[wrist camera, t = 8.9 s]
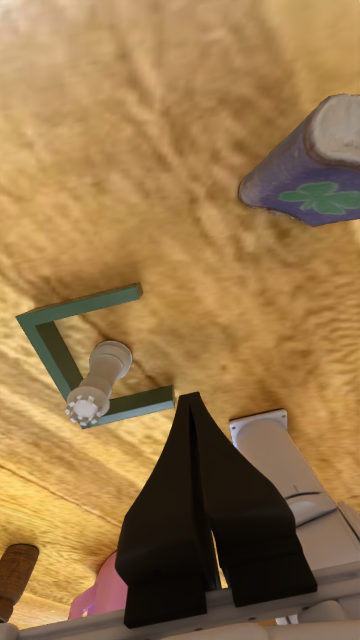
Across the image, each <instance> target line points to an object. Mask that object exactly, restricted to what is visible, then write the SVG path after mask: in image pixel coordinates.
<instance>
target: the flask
mask: <svg viewBox="0 0 360 640" xmlns="http://www.w3.org/2000/svg"><path fill="white" fill-rule="evenodd" d="M239 198H240V199H241V200H242V202H244V203H245V204H246V205H248V206H250V207H252V208H256V207H260V208H263V209H265V210H267V211H269V213H273V214H274V215H278V216H280V215H286V214H287V215H289V216H290V219H299V220H300V221H301V223H305V224H307V225H310V226H311V227H315V226H320V225H324V224H329V223H336V222H340V221H349V220H356V219H360V95H347V94H338V95H333V96H329V97H327V98H326V99H325V100H323V101H322V102H321V103H320V104H319V106H318V107H317V108H316V109H314V110H313V111H312V112H311V113H310V114H309V115H308V116H307V117H306V118H305V120H304V121H303V122H302V123H301V124H300V125H299V126H298V127H297V128H296V129H295V130H294V131H293V132H292V133H290V134H289V135H288V136H287V137H286V138H285V139H284V140H283V141H282V142H281V143H280V144H279V145H278V146H277V147H276V148H275V149H274V150H273V151H271V152H270V153H269V154H268V156H267V157H266V158H265V159H264V160H263V161H262V162H261V163H260V164H259V165H258V166H257V167H255V168H254V169H253V170H252V171H251V172H250V173H249V174H247V175H246V176H245V177H244V178H243V180H242V182H241V185H240V187H239Z"/></svg>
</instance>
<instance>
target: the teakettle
mask: <svg viewBox="0 0 360 640" xmlns="http://www.w3.org/2000/svg"><path fill="white" fill-rule="evenodd" d="M116 553H117V551H116V552H115V553H113V554H112V555H111V556H110V557H109V558H108V559H107V560H106V562H105V563H104V564H103V566H102V567H101V569H100V571H99V574H98V576H97V578H96V581H95V583H94V585H93V586H92V587H90V588H89V589H88V590H86V591H85V592H83V593H82V594H81V595H79V596H78V597H76V598H75V599H74V601H73V602H72V603H71V608H70V612H69V617H68V620H71V619H76V618H81V617H82V616H83V613H84V612H85V611H87V610H88V612H87V616H91V615H96V614H100V613H105V612H110V611H115V610H120V609H125V606H126V598H127V589H128V586H127V585H126V584H125V582H124V581H123V580H122V579H121V578H120V576H119V575H118V574H117V572H116V570H115V559H116Z"/></svg>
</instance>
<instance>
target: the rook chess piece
mask: <svg viewBox="0 0 360 640" xmlns="http://www.w3.org/2000/svg"><path fill="white" fill-rule="evenodd" d="M132 358H133V357H132V355H131V352H130V350H129V349H128V348H127V347H126V346H125V345H123V344H121V343H119V342H117V341H106V342H102V343H100V344H99V345H97V346H96V347H95V349H94V351H93V352H92V354H91V356H90V359H89V366H90V371H89V374H88V376H87V378H85V379H84V380H82V381H81V383H80V385H79V388H76V389H74V390H73V391H71V392H70V393H69V395H68V397H67V405H68V406H67V408H66V414H70V413H71V416H70V418H69V420H70V421H72V422H73V423H74V422H75V421H76V419H77V418H78V419H81V420H82V421H81V423H80V425H84V426H87V424H88V422H89V420H91V423H92V424H94V423H96V422H97V421H98V419H99V417H101V416H102V415H104V414H106V412H107V411H108V409H109V405H110V401H109V398H110V396H111V395H112V387H113V385H114V383H115V382H116V381H117V380H119V379H120V378H122V377H123V376H125V375H126V373H127V372H128V370H129V369H130V366H131V365H132Z"/></svg>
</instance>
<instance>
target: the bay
mask: <svg viewBox="0 0 360 640" xmlns="http://www.w3.org/2000/svg"><path fill="white" fill-rule="evenodd" d="M142 294H143V291H142V288H141V285H140V282H138V283H134V284H130V285H126V286H122V287H118V288H115V289H111V290H107V291H103V292H99V293H95V294H91V295H87V296H83V297H79V298H75V299H71V300H67V301H63V302H59V303H55V304H51V305H47V306H44V307H40V308H36V309H33V310H30V311H28V312H25V313H23V314H21V315H18V316H16V319H17V321H18V322H19V324H20V326H21V327H22V329H23V331H24V332H25V334H26V336H27V337H28V339H29V341H30V342H31V344H32V346H33V347H34V349H35V351H36V352H37V354H38V356H39V357H40V359H41V361H42V362H43V364H44V366H45V367H46V369H47V371H48V372H49V374H50V376H51V377H52V379H53V381H54V382H55V384H56V386H57V387H58V389H59V391H60V393H61V394H62V396H63V398H64V399H65V401H66V403H67V397H68V395H69V393H70V392H71V391H73V390H74V389H76V388H79V385H80V383H81V381H82V380H83V378H82V376H81V374H80V372H79V370H78V368H77V366H76V364H75V362H74V361H73V359H72V357H71V355H70V353H69V351H68V349H67V347H66V345H65V343H64V341H63V340H62V338H61V336H60V334H59V332H58V330H57V328H56V326H55V324H54V322H53V321H54V320H58V319H62V318H66V317H70V316H74V315H78V314H82V313H86V312H90V311H94V310H98V309H102V308H106V307H110V306H114V305H118V304H122V303H126V302H130V301H134V300H138V299H140V297H141V296H142ZM109 401H110V405H109V409H108V411H107V412H106V414H104V415H102V416H101V417H99V419H98V421H97V422H96V423H94V424H92V423H91V420H89V422H88V424H87V426H84V425H80V426H81V428H82V429H86V428H90V427H94V426H98V425H102V424H107V423H111V422H115V421H120V420H124V419H128V418H132V417H137V416H141V415H145V414H150V413H154V412H158V411H162V410H167V409H171V408H175V393H174V389H173V386H167V387H163V388H159V389H155V390H151V391H146V392H142V393H138V394H134V395H129V396H125V397H121V398H117V399H113V400H109ZM77 421H78V423H79V424H80V423H81V421H82V420H81V419H78V418H77Z"/></svg>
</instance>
